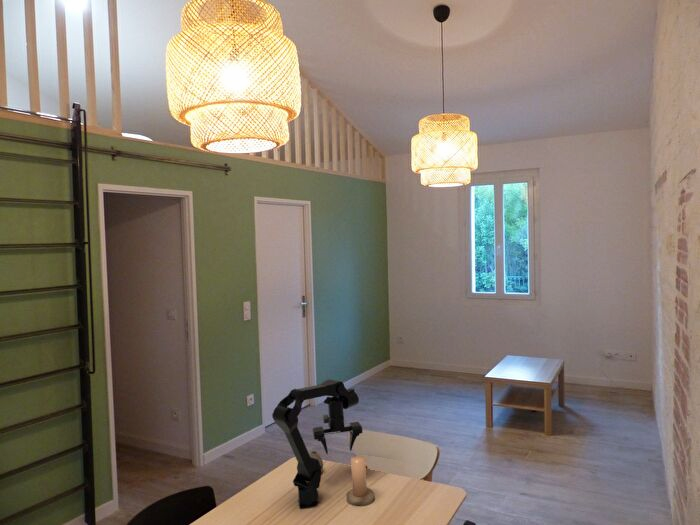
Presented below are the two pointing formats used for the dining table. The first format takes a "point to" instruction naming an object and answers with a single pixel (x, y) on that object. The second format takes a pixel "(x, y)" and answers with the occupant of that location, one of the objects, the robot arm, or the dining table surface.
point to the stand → (360, 498)
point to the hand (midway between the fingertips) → (338, 452)
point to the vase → (317, 456)
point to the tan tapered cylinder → (359, 476)
